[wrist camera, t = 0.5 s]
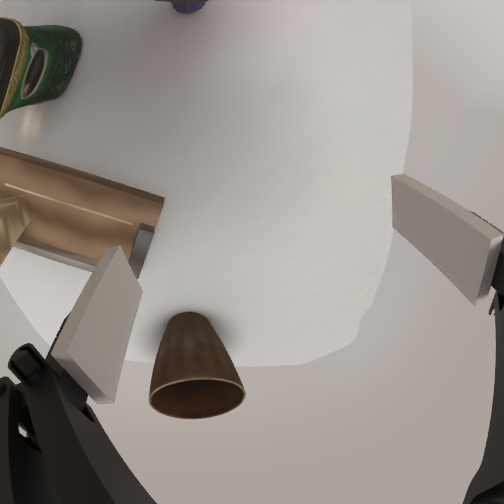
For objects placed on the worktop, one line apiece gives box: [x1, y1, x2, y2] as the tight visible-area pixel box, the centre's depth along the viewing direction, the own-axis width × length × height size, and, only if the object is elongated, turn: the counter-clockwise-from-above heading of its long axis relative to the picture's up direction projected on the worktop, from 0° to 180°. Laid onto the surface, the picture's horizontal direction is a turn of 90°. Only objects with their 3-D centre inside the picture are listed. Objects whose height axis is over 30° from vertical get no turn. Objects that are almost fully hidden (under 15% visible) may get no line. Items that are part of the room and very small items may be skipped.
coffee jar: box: [0, 17, 82, 119], centre depth 15 cm, size 10×8×19 cm
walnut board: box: [0, 147, 164, 279], centre depth 33 cm, size 13×26×4 cm, turn 63°
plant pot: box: [149, 312, 246, 419], centre depth 46 cm, size 15×15×16 cm
